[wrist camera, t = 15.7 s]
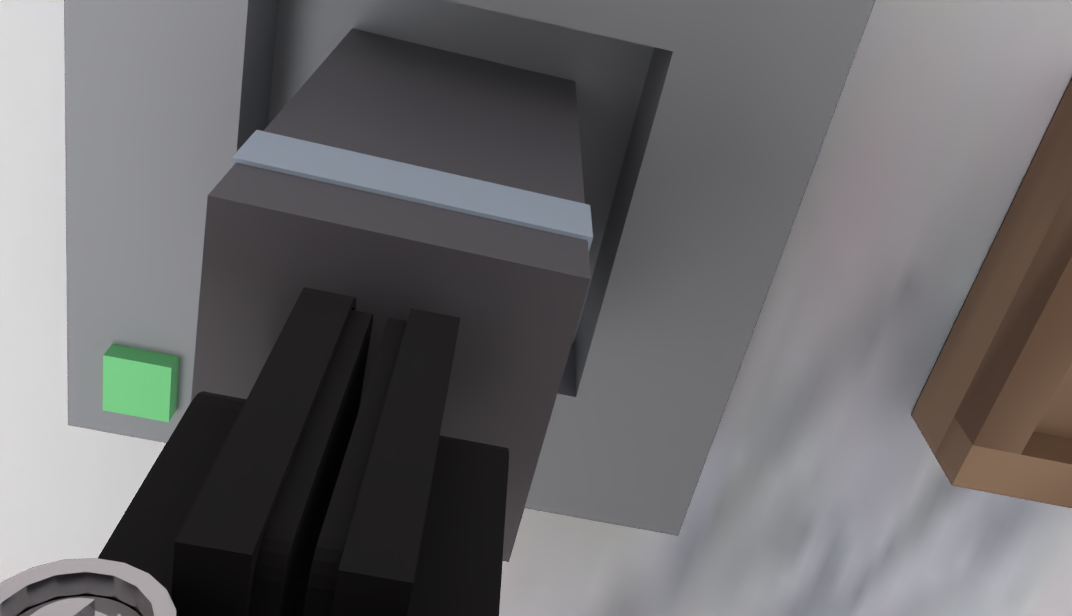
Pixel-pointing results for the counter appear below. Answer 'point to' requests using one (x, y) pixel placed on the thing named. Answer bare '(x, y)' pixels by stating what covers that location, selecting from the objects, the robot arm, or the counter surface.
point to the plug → (412, 231)
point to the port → (608, 178)
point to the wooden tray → (1014, 346)
